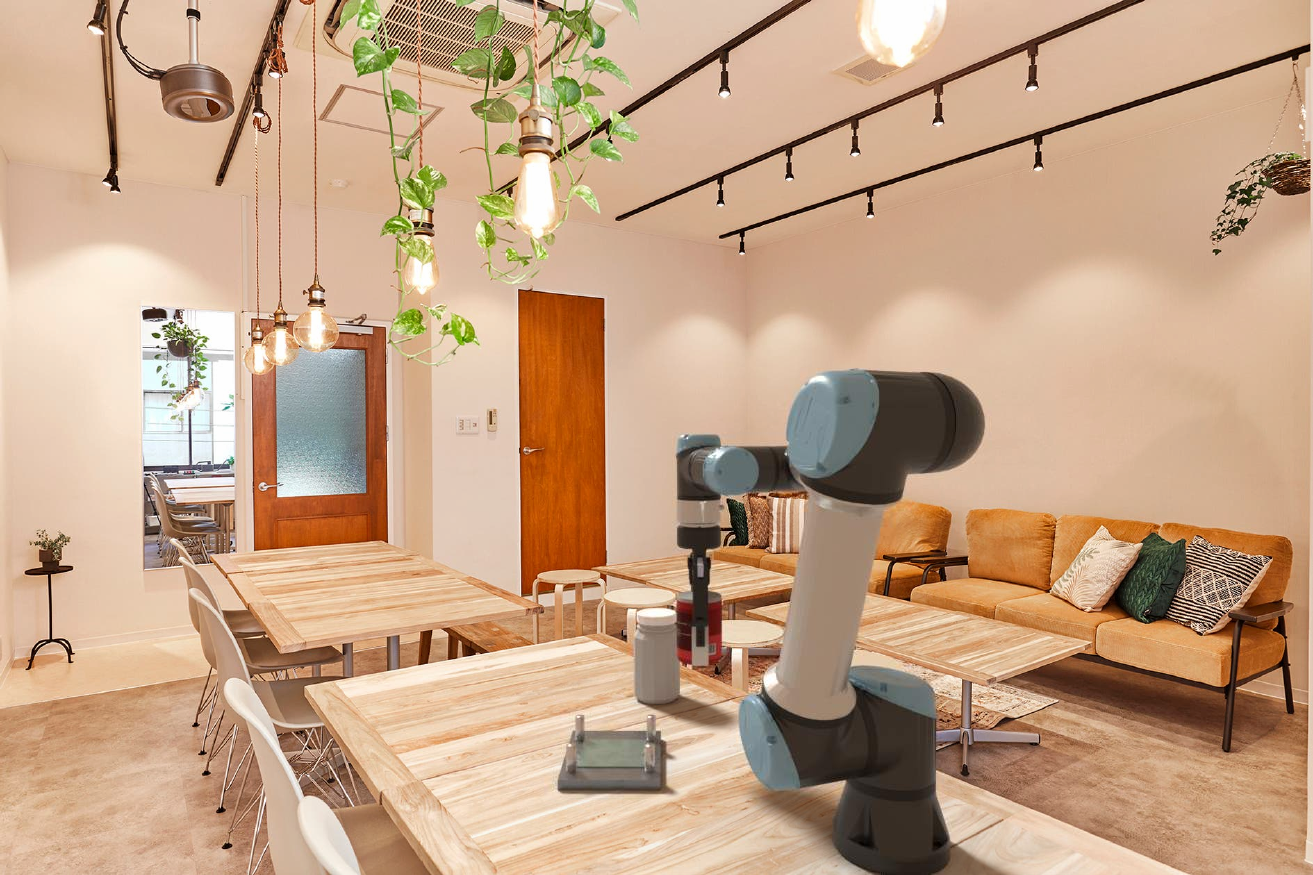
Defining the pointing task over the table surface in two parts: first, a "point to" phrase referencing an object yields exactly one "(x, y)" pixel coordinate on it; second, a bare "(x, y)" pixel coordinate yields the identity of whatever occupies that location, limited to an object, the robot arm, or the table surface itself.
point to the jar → (656, 657)
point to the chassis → (612, 759)
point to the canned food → (685, 633)
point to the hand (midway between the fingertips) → (699, 657)
